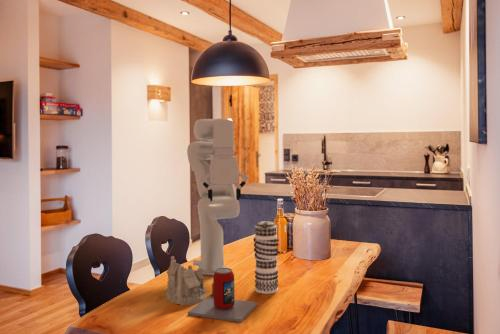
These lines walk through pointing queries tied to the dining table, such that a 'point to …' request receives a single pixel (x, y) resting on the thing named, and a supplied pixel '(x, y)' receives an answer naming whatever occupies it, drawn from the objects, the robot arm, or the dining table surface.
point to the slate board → (223, 310)
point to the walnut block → (212, 290)
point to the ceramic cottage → (184, 284)
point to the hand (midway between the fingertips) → (224, 200)
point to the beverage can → (223, 288)
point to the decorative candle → (266, 257)
